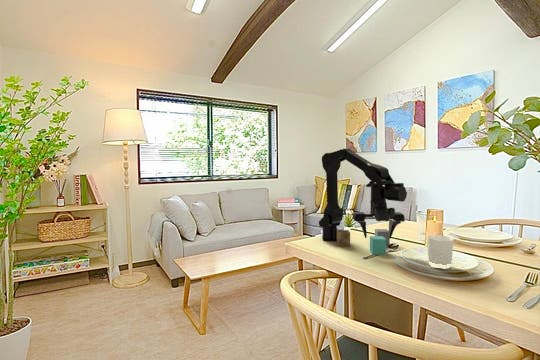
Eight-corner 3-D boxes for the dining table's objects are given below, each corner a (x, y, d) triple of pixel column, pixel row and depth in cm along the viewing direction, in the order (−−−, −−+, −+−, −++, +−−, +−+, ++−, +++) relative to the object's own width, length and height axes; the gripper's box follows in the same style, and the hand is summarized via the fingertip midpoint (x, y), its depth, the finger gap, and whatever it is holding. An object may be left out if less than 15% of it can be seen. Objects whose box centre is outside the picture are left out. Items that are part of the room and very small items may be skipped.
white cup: (443, 272, 102) (444, 242, 101) (421, 264, 109) (422, 236, 108) (457, 268, 105) (458, 238, 105) (436, 261, 112) (436, 234, 112)
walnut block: (338, 246, 132) (338, 232, 132) (336, 243, 137) (336, 230, 137) (350, 246, 132) (350, 232, 132) (348, 243, 137) (348, 230, 136)
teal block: (372, 254, 121) (372, 239, 121) (369, 250, 126) (369, 236, 126) (385, 254, 121) (386, 239, 120) (382, 250, 126) (382, 236, 125)
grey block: (377, 245, 134) (377, 231, 133) (374, 242, 139) (374, 229, 138) (389, 245, 133) (389, 231, 133) (386, 242, 138) (386, 229, 138)
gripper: (357, 201, 115) (357, 243, 116) (410, 202, 113) (409, 244, 114) (352, 197, 126) (352, 235, 127) (400, 198, 124) (399, 236, 126)
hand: (377, 238), depth 123 cm, fingers open, 9 cm apart
